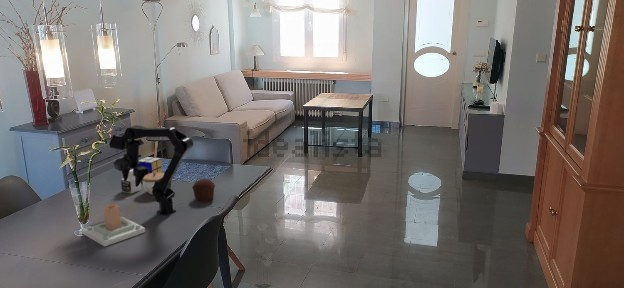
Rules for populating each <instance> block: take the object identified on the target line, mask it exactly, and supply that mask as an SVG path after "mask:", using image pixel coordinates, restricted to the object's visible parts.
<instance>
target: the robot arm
mask: <svg viewBox="0 0 624 288" xmlns="http://www.w3.org/2000/svg"><path fill="white" fill-rule="evenodd" d="M156 137H157V138H168V140H169V142H170V143H171V144H172V146H173V147H174V148H173V156H172V158H171V160H170V161H169V163H168V166H167V168H166V170H165V172H163V173H164V175H163V177H162V178H160V179H159V180H157V181H155V183H154V186H153V187H152V189H153V190H152V193H153V196H154V198H155V201H156V203H158V205H159V206H158V207H159V210H156V213H159V214H161V215H163V216H166V215H169V214H171V213H175V212H177V211H176V209H175V208H174V206H173V205H174V203H173V198H175V195H176V192H175V191H174V190H173V189H172V188H171V187H172V181H173V179H174V177H175V175H176V173H177V171H178V169H179V167H180V165H181V163H182V161H183V160H184V157H185V156H186V155H187V154H188V153H190V151H191V150H192V148H193V147H194V142H193V140H192V138H190V137H188V135H186V134H185V133H183V132H181V131H179V129H177V128H175V127H173V126H171V127H145V126H142V125H138V124H135V125H133V126H130V127H127V128H126V129H125V132H124V134H122V135H120V134H116V133H115V134H113V135H112V138H111V139H110V141H109V143H108V145H109V148H110V149H113V150H117V151H122V152H123V151H126V152H125V153H123V157H121V158H116V160H115V161H114V162H113V166H114V169H115V170H117V171H118V172H121V174H122V177H123V178H124V181H126V180H127V178H128V175H129V171H130V168H131V169H133V173H134V174H133V175H134V176H135V185H136V187H138V186H139V184H140V182H141V183H142V182H143V180H142V179H143V178H144V176H145V175H147V174H149V169H148V168H146V167H144V166H142V167H138V166H139V165H141V163H139V160H140V158H141V157H142V155H141V154H140V146H142V145H144V144H145V142H144V141H143V140H142V138H156ZM123 178H122V179H123Z"/></svg>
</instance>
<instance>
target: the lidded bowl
mask: <svg viewBox="0 0 624 288" xmlns="http://www.w3.org/2000/svg"><path fill="white" fill-rule="evenodd" d="M164 173H165V172H162V173H156V172H153V173H150V174H147V175H145V176H144V178H143V179H142V186H143V188H144V190H145V191H146V192H147V193H148V194H149V195H153V193H152V190H153V189H152V187H153V186H154V183H155V181H157V180H159V179H160V178H162V177H163V175H164ZM153 196H154V195H153Z"/></svg>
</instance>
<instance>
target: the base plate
mask: <svg viewBox="0 0 624 288" xmlns="http://www.w3.org/2000/svg"><path fill="white" fill-rule="evenodd" d="M121 225H122V228H119V229H116V230H112V231H109V230H106V223H105V221H104V222H101V223H99V224H95V225H92V226H91V225H89V226H87V227H86V228H84V229H82V233H83V235H85V236H86V237H88V238H89V239H91V240H93V241H95V242H96V243H98V244H99V245H101V246H102V247H107V246H111V245H113V244H115V243H118V242H121V241H124V240H127V239H130V238H133V237H136V236H138V235H141V234H143V233H146V228H145V227H144V226H142V225H140V224H138V223H136V222H134V221H132V220H130V219H128V218H126V217H124V216H121Z"/></svg>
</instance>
